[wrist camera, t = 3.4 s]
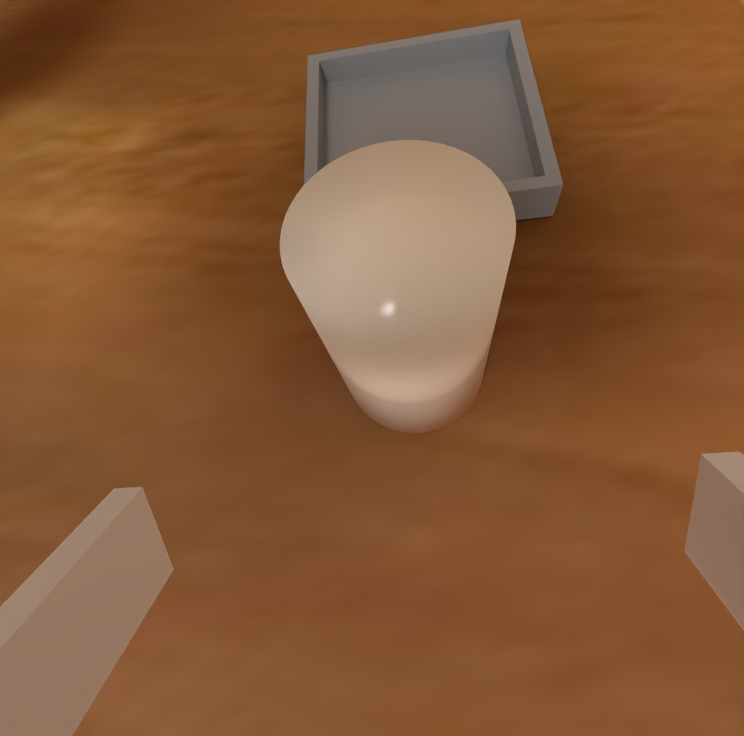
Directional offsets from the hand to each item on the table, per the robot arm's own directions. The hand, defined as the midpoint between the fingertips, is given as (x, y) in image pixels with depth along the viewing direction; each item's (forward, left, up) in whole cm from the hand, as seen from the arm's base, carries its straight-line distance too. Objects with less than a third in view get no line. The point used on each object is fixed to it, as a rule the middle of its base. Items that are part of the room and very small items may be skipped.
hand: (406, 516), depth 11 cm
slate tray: (+2, +31, -16) cm, 35 cm away
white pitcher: (0, +12, -16) cm, 20 cm away
